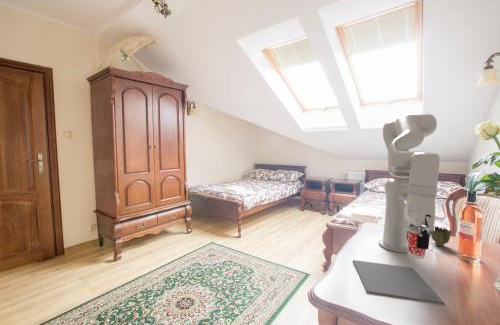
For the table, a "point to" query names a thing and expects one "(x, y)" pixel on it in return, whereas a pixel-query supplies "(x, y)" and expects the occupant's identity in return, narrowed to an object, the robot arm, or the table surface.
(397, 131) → the robot arm
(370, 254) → the table surface
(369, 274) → the mat
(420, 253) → the beverage cup
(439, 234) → the cup
